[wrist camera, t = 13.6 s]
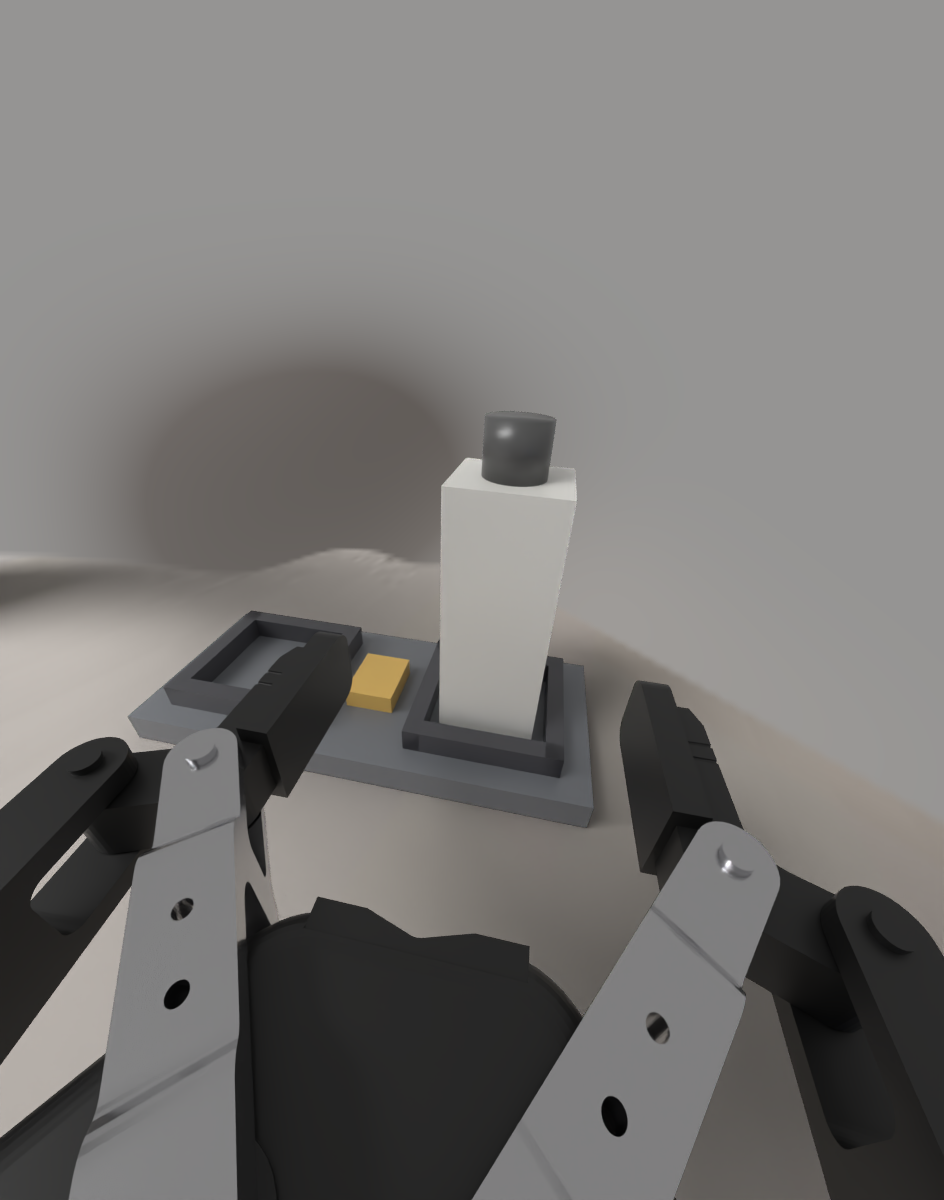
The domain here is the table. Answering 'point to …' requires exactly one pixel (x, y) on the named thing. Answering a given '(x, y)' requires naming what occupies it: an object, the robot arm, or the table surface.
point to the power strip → (395, 720)
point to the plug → (502, 574)
